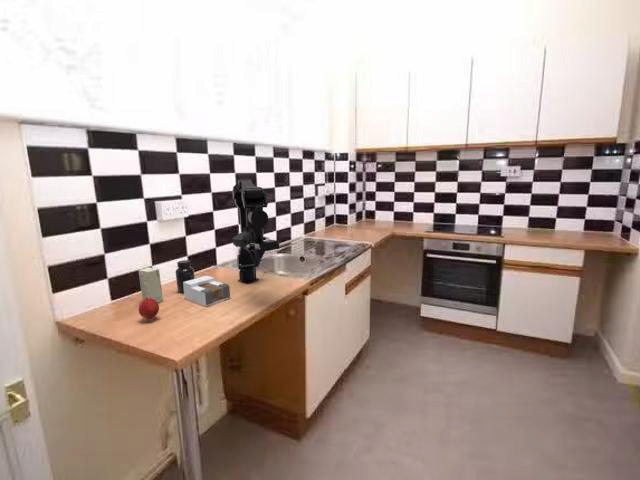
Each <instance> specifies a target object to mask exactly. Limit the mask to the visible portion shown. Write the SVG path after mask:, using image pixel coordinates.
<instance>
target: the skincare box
mask: <svg viewBox="0 0 640 480" xmlns="http://www.w3.org/2000/svg"><path fill="white" fill-rule="evenodd" d="M160 274H161V273H160V269H159V268H154V267H145V268H142V269H138V277H139V283H140V285H139V286H140V290H141V298H142V301H143V300H144V299H145V298H146V297H147V296H149V297H150V298H152V299H154V300H155V301H156V302H157V303H158V304H159V303H161V302H164V297H163V296H164V295H163V290H162V289H163V288H162V282H161V275H160Z"/></svg>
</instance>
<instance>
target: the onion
mask: <svg viewBox="0 0 640 480" xmlns="http://www.w3.org/2000/svg"><path fill="white" fill-rule="evenodd" d="M159 311H160V305H159V303H157V302H156V301H155V300H154V299H152V298H150V297H149V296H147V297H146V298H145V299H144V300H143V299H142V301H141V302H140V303H139V305H138V313H139V315H140V316H141V317H142V318H144V319H146V320H148V321H150V320H153V318H154V317H156V316H157V315H158V313H159Z"/></svg>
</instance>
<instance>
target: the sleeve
mask: <svg viewBox="0 0 640 480" xmlns="http://www.w3.org/2000/svg"><path fill="white" fill-rule="evenodd" d="M206 283H207V284H210V285H213V286H216V287H219V288H222V294H223V299H221V300H218V301H215V302H213V294H212V291H211V289H208V288H207V289H205V288H202V287H199V285H202V284H206ZM183 287H184V293H183V295H184V297H183V298H184V299H187V300H189V301H191V302H193V303H196V304H199V305H201V306H204V307H209V306H213V305H216V304H218V303H220V302H223V301H226V300H229V299H231V290H230V289H231V287H230V284H229V283H226V282H224V283H222V282H219V281H216V280H215V277H213V276H210V275H209V276H208V275H204V276H201V277H200V276H199V277H197V278H196V277H195V279H193V280H189V281H185V282H183Z"/></svg>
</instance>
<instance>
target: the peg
mask: <svg viewBox="0 0 640 480" xmlns="http://www.w3.org/2000/svg"><path fill="white" fill-rule="evenodd" d="M199 287H202V288H205V289H207V288H208V289H211V291H212V294H213V302H215V301H218V300H221V299H223V294H222V288H219V287H216V286H213V285H210V284H207V283H206V284H202V285H199Z"/></svg>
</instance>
